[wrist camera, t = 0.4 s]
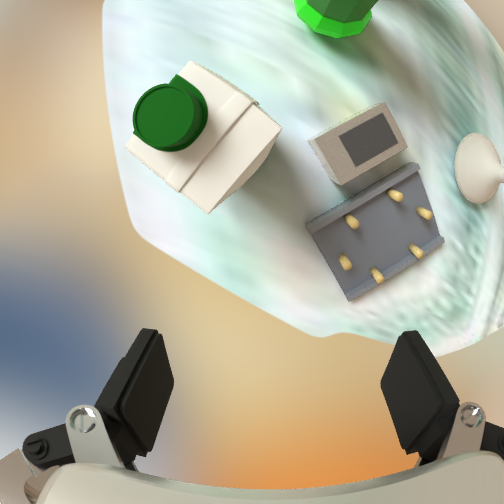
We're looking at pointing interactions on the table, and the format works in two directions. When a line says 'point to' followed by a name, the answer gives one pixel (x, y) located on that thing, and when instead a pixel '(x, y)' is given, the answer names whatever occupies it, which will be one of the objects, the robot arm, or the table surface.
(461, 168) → the flower in vase
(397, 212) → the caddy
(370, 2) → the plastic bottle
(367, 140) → the block
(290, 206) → the table surface
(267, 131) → the milk carton
